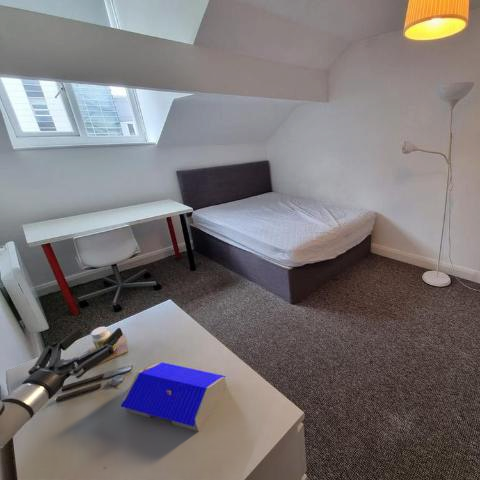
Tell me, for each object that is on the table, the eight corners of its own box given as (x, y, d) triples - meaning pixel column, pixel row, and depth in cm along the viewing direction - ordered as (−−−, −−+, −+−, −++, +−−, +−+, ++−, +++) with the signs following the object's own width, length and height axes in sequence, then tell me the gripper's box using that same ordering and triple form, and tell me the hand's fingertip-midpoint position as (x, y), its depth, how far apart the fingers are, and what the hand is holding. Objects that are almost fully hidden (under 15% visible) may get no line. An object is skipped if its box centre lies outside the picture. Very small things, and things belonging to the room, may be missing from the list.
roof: (124, 414, 70) (114, 395, 67) (164, 369, 82) (157, 351, 79) (196, 434, 64) (189, 415, 61) (228, 383, 77) (223, 365, 74)
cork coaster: (89, 349, 90) (89, 348, 90) (124, 335, 96) (124, 334, 96) (89, 368, 83) (89, 367, 83) (127, 352, 89) (127, 351, 89)
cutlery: (54, 405, 73) (53, 403, 72) (64, 386, 78) (63, 384, 78) (128, 382, 78) (127, 380, 78) (132, 365, 84) (131, 363, 83)
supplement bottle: (120, 345, 91) (111, 325, 88) (108, 356, 87) (99, 336, 84) (107, 344, 92) (98, 325, 88) (95, 355, 88) (85, 335, 84)
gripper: (-4, 401, 70) (68, 340, 89) (88, 401, 69) (141, 339, 88) (-20, 381, 66) (58, 322, 86) (76, 381, 66) (133, 321, 85)
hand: (100, 331), depth 87 cm, fingers open, 13 cm apart
